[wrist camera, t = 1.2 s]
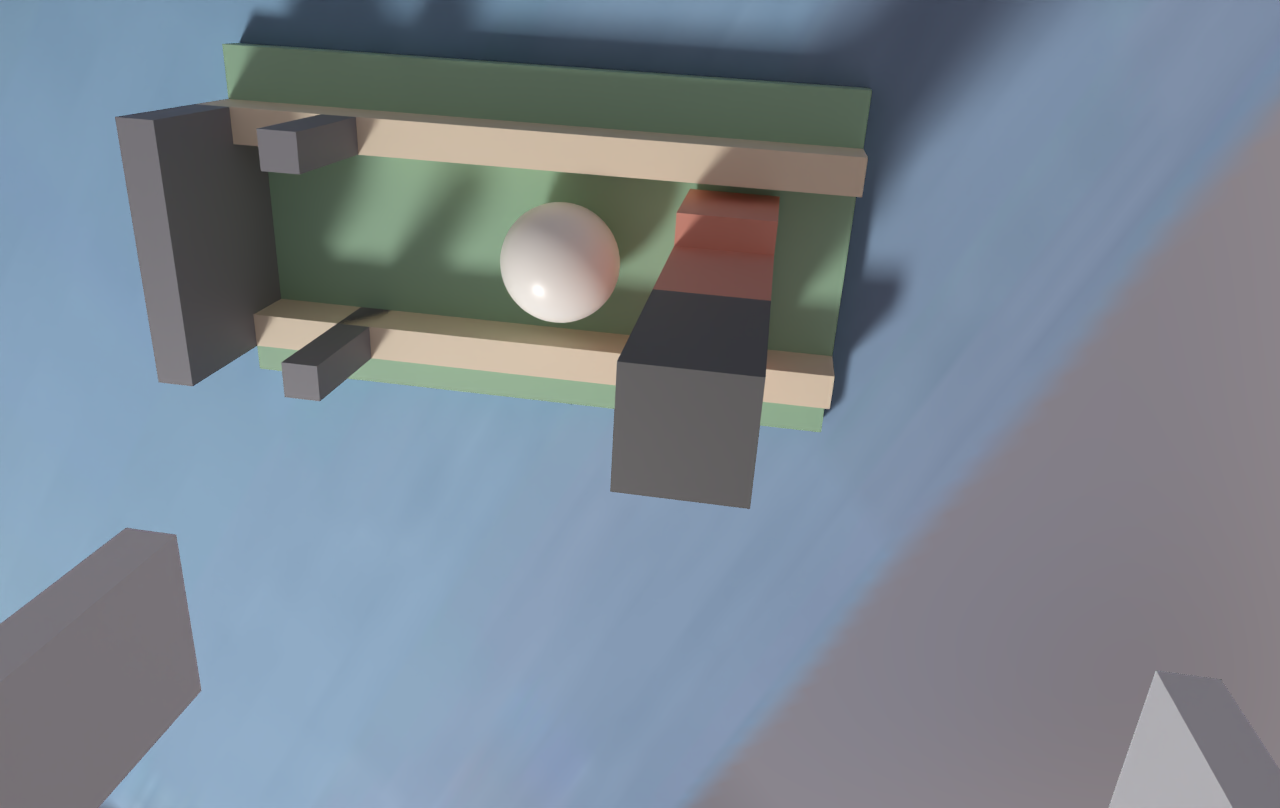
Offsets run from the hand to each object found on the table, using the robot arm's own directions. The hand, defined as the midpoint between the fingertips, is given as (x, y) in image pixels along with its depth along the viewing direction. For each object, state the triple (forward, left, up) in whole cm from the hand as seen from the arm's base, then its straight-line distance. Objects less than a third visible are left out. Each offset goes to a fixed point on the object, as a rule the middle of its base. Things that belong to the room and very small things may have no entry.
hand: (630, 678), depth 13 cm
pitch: (0, -7, -23) cm, 24 cm away
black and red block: (0, 0, -21) cm, 21 cm away
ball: (0, -6, -20) cm, 20 cm away
